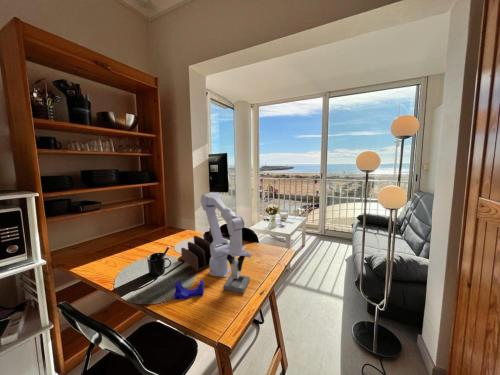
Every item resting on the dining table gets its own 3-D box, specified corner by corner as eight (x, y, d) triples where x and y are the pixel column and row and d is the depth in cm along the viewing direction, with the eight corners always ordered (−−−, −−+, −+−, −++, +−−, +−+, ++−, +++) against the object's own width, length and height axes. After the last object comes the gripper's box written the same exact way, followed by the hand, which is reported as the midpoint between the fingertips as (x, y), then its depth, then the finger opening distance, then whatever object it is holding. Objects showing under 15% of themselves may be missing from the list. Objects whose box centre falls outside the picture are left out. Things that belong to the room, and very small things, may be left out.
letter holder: (195, 254, 135) (194, 233, 133) (212, 265, 121) (212, 242, 119) (181, 259, 128) (179, 237, 126) (197, 271, 114) (196, 247, 112)
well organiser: (223, 290, 97) (223, 285, 97) (231, 278, 107) (230, 274, 107) (243, 293, 95) (243, 288, 94) (249, 281, 104) (249, 276, 104)
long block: (231, 277, 97) (230, 264, 96) (235, 270, 103) (235, 257, 102) (237, 278, 96) (237, 264, 95) (241, 271, 102) (241, 258, 101)
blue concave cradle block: (174, 299, 92) (174, 287, 91) (177, 293, 96) (177, 281, 95) (202, 298, 92) (201, 286, 91) (203, 292, 97) (203, 280, 96)
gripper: (218, 244, 96) (219, 272, 98) (248, 247, 92) (248, 276, 94) (224, 239, 103) (225, 264, 104) (252, 241, 99) (252, 268, 101)
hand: (236, 269), depth 100 cm, fingers closed on long block, 3 cm apart
